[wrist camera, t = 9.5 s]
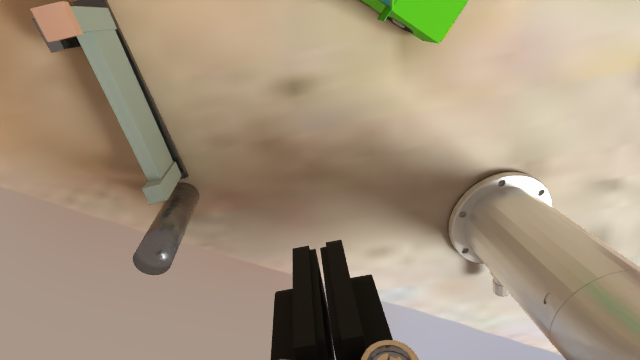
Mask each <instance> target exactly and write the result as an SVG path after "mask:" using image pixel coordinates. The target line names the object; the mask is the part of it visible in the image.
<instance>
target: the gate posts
mask: <svg viewBox="0 0 640 360" xmlns="http://www.w3.org/2000/svg"><path fill="white" fill-rule="evenodd" d="M74 5H75V6H81V7H100V8H108V9H109V12H110V14H111V16H112V18H113V21H114V23H115V25H116V27H117V29H115V31H116V33H117V36H118V38H119V40H120V42H121V45H122V47H123V49H124V51H125V54H126V56H127V58H128V60H129V63H130V65H131V67H132V69H133V72H134V74H135V76H136V78H137V81H138V83H139V85H140V87H141V90H142V92H143V94H144V96H145V99H146V101H147V103H148V105H149V108H150V110H151V112H152V114H153V117H154V119H155V121H156V123H157V126H158V128H159V130H160V132H161V135H162V137H163V139H164V141H165V144H166V146H167V148H168V151H169V153H170V155H171V157H172V160H173V162H175V161H176V164H177V166H178V168H179V170H180V173H181V175H182V176H181V178H180V179H183V178H187V177H188V176H189V175H188V173H187V171H186V169H185V167H184V165H183V163H182V160H181V158H180V156H179V154H178V152H177V150H176V148H175V145H174V143H173V141H172V139H171V137H170V135H169V133H168V130H167V128H166V126H165V124H164V122H163V120H162V118H161V115H160V113H159V111H158V109H157V107H156V105H155V103H154V100H153V98H152V96H151V94H150V92H149V90H148V88H147V86H146V83H145V81H144V79H143V77H142V75H141V73H140V71H139V68H138V66H137V64H136V62H135V60H134V58H133V56H132V53H131V51H130V49H129V47H128V45H127V43H126V41H125V38H124V36H123V34H122V32H121V30H120V28H119V26H118V23H117V21H116V19H115V17H114V15H113V13H112V11H111V9H110V6H109V4H108V2H107V0H81V1H77V2H74ZM33 21H34V23H35V24H36V26H37V28H38V30H39V31H40V33H41V35H42V37H43V38H44V40H45V42H46V44H47V46H48V47H49V49H50V51H51V53H52V52H59V51H65V50H71V49H77V48H81V45H80V43H79V41H78V39H77V37H76V36H75V37H70V38H66V39H62V40H58V41H53V42H47V40H46V38H45V36H44V34H43V32H42V31H41V29H40V27H39V25H38V23H37V21H36V19H35V18H33ZM198 199H199V193H198V190H197V189H196V188H195V187H194V186H192V185H191V184H187V183H181V184H178V185H176V186H175V188H174V190H173V192H172V193H171V195H170V197H169V198H168V200H166V201H165V203H164V205H163V206H162V208H161V210H160V211H159V213H158V215H157V216H156V218H155V220H154V221H153V223H152V225H151V226H150V228H149V230H148V232H147V233H146V235H145V237H144V239H143V240H142V242H141V243H140V245H139V247H138V249H137V250H136V252H135V254H134V256H133V262H134V264H135V266H136V268H137V269H139V270H140V271H141V272H143V273H146V274H149V275H159V274H162V273H165V272H166V271H167V270H168V269H169V268H170V266H171V264H172V261H173V259H174V257H175V254H176V252H177V250H178V247H179V245H180V242H181V240H182V238H183V235H184V233H185V230H186V228H187V226H188V223H189V221H190V218H191V216H192V214H193V211H194V209H195V207H196V204H197V202H198Z"/></svg>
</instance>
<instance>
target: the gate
mask: <svg viewBox="0 0 640 360" xmlns="http://www.w3.org/2000/svg"><path fill="white" fill-rule="evenodd" d="M30 10H31V12H32V14H33V16H34V17H35V19H36V21H37V23H38V25H39V27H40V29H41V31H42V32H43V34H44V36H45V38H46V40H47V42H53V41H58V40H62V39H66V38H70V37H75V36H76V37H77V39H78V41H79V43H80V45H81V47H82V49H83V51H84V53H85V55H86V57H87V59H88V61H89V63H90V65H91V67H92V69H93V71H94V73H95V75H96V77H97V79H98V81H99V83H100V85H101V87H102V89H103V91H104V93H105V95H106V97H107V99H108V101H109V103H110V105H111V107H112V110H113V112H114V114H115V116H116V118H117V120H118V122H119V124H120V126H121V128H122V130H123V132H124V134H125V136H126V138H127V140H128V142H129V144H130V146H131V148H132V150H133V152H134V154H135V156H136V158H137V160H138V162H139V164H140V166H141V168H142V170H143V172H144V174H145V176H146V178H147V180H148V181H147V182H146V184H145V185H144V186H143V188H142V191H143V193H144V195H145V197H146V199H147V201H148V203H149V205H150V204H154V203H158V202H162V201H166V200H168V198H169V197H170V195H171V193H172V192H173V190H174V188H175V186H176V185H177V183H178V181H179V180H180V178H181V176H182V175H181V173H180V170H179V168H178V166H177V164H176V161H175V162H173V160H172V157H171V155H170V153H169V151H168V148H167V146H166V144H165V141H164V139H163V137H162V135H161V132H160V130H159V128H158V126H157V123H156V121H155V119H154V117H153V114H152V112H151V110H150V108H149V105H148V103H147V101H146V99H145V96H144V94H143V92H142V90H141V87H140V85H139V83H138V81H137V78H136V76H135V74H134V72H133V69H132V67H131V65H130V63H129V60H128V58H127V56H126V54H125V51H124V49H123V47H122V45H121V42H120V40H119V38H118V36H117V33H116V31H115V29H117V27H116V25H115V23H114V21H113V18H112V16H111V14H110V12H109V9H108V8H100V7H81V6H70V5H69V3H68V2H66V1H60V2H56V3H51V4H47V5H43V6H39V7H35V8H31V9H30Z"/></svg>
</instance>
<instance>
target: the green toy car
mask: <svg viewBox="0 0 640 360" xmlns="http://www.w3.org/2000/svg"><path fill="white" fill-rule="evenodd" d="M362 1H363V2H364V3H366V4H367V5H369V6H370V7H372V8H373V9H374V10H376V11H377V12H379V13H380V16H379V17H378V20H382V21H385V20H386V18H388V19H389V20H390V21H392V22H393V23H394V24H396V25H397V26H399V27H400V28H402V29H404V30H406V31H409V32H411V33H412V34H413V35H415V36H416V37H418V38H419V39H421V40H422V41H428V42H433V43H439V42H440V41H442V40H443V39H444V38H445V36H446V35H447V33H448V32H449V30H450V29H451V27H452V26H453V23H454V22H455V20H456V18H457V17H458V15H459V14H460V12H461V11H462V9H463V8H464V6H465V5H466V3H467V2H468V0H362Z"/></svg>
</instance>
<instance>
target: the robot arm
mask: <svg viewBox="0 0 640 360" xmlns="http://www.w3.org/2000/svg"><path fill="white" fill-rule="evenodd" d="M449 237H450V240H451V242H452V244H453V246H454V248H455V249H456V250H457V251H458V253H459V254H460V255H462V256H463V257H464V258H465V259H467V260H469V261H472V262H475V263H480V264H485V265H486V266H487V267H488V269H489V270H490V273H491V275H492V276H493V292H494V293H495V294H496V295H498V296H502V297H504V296H507V295H509V293H510V295H511V296H512V297H513V298H514V299H515V300H516V302H517V303H518V304H519V305H520V306H521V308H522V309H523V310H524V311H525V312H526V313H527V315H528V316H529V317H530V318H531V319H532V320H533V322H534V323H535V324H536V325H537V326H538V328H539V329H540V330H541V331H542V332H543V333H544V335H545V336H546V337H547V338H548V339H549V341H550V342H551V343H552V344H553V345H554V346H555V347H556V349H557V350H558V351H559V352H560V353H561V354H562V356H563V357H564V358H565V359H566V360H640V267H639V266H637V265H636V264H634V263H633V262H632V261H630V260H629V259H627V258H626V257H624V256H623V255H621V254H620V253H618V252H617V251H616V250H614V249H613V248H611V247H610V246H608V245H607V244H605V243H604V242H602V241H601V240H600V239H598V238H597V237H595V236H594V235H592V234H591V233H589V232H588V231H586V230H585V229H583V228H582V227H581V226H579V225H578V224H576V223H575V222H573V221H572V220H570V219H569V218H567V217H566V216H565V215H563V214H562V213H560V212H559V211H557V210H556V209H554V208H553V207H552V200H551V197H550V193H549V191H548V190H547V188H546V187H545V186H544V185H543V184H542V183H541V182H540V181H539V180H537V179H535V178H534V177H532V176H530V175H527V174H525V173H519V172H504V173H500V174H496V175H493V176H490V177H488V178H485V179H483V180H482V181H480V182H478V183H477V184H475V185H474V186H473V187H471V188H470V189H469V190H468V191H467V192H466V193H465V194H464V195H463V196H462V197H461V198H460V200H459V201H458V203H457V204H456V206H455V207H454V209H453V212H452V214H451V216H450V221H449ZM320 250H321V257H322V265H323V273H324V281H325V288H326V296H327V302H326V297H325V293H324V288H323V283H322V278H321V273H320V268H319V263H318V258H317V254H316V249H312V250H310V249H309V246H304V247H299V248H293V289H288V290H283V291H277V292H276V293H275V301H274V317H273V334H272V349H271V360H335V358H334V351H335V356H336V360H419V359H418V357H417V355H416V354H415V353H414V352H413V350H412V349H411V348H409V347H408V346H407V345H405V344H403V343H401V342H398V341H393V339H392V336H391V333H390V330H389V327H388V324H387V321H386V318H385V315H384V312H383V308H382V305H381V302H380V299H379V296H378V293H377V289H376V286H375V283H374V280H373V277H372V275H365V276H360V277H354V278H350V275H349V271H348V266H347V262H346V258H345V254H344V249H343V245H342V241H341V240H337V241H332V242H326V247H323V248H320ZM327 304H328V307H327ZM328 311H329V313H328ZM331 334H332V335H331ZM332 341H333V342H332ZM333 346H334V350H333Z"/></svg>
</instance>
